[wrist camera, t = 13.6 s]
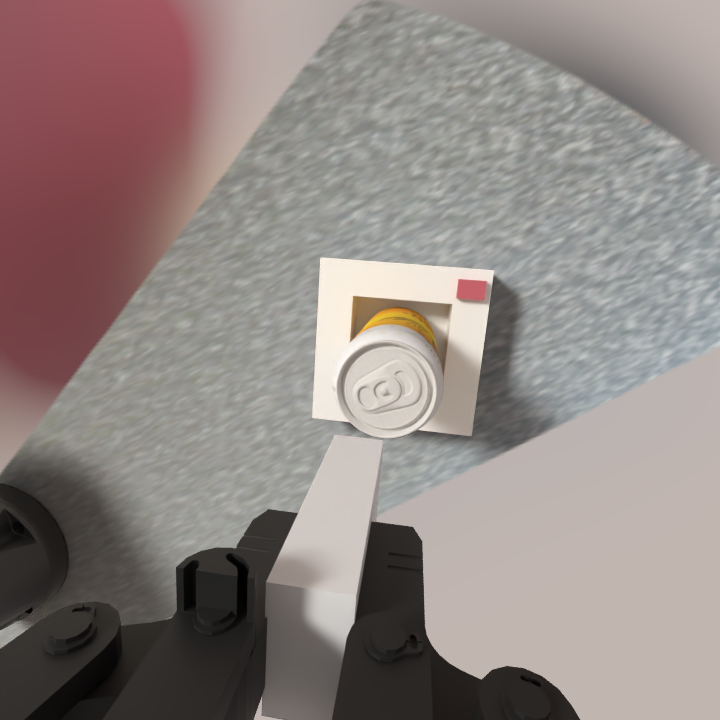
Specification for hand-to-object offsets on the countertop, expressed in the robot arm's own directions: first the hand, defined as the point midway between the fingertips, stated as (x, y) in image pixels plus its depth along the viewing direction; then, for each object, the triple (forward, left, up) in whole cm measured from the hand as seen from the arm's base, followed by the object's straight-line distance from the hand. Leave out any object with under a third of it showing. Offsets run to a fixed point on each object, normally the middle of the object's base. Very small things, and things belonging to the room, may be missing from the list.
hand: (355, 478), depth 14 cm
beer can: (0, 0, -25) cm, 25 cm away
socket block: (0, 0, -25) cm, 25 cm away
